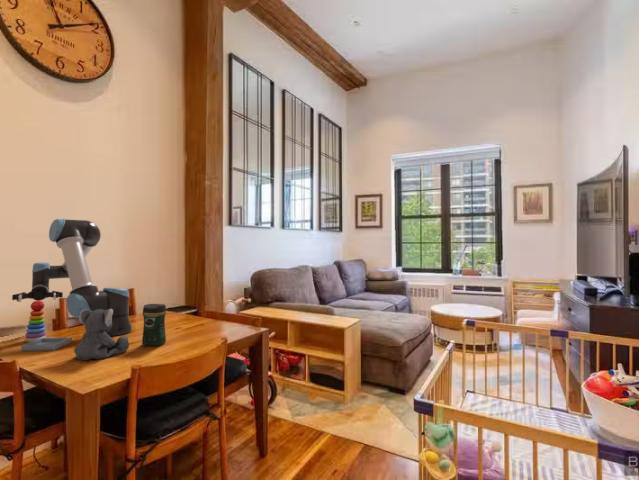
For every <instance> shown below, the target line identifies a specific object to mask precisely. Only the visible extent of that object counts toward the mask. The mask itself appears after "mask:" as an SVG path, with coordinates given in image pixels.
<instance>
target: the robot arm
mask: <svg viewBox="0 0 639 480" xmlns="http://www.w3.org/2000/svg"><path fill="white" fill-rule="evenodd" d="M101 237H102V236H101V229H100V228H99V227H98V225H97V224H96V223H94V222H92V221H90V220H86V219H84V220H83V219H66V218H63V219H62V218H57V219H54V220H53V221H52V222H51V224H50V227H49V230H48V238H49V240H50V242H52V243H56V246H57V248H58V249H61V252H62V255H63V260H64V262H63V263H62V264H60V265H51V264H50V263H49V262H34V263H33V264H32V270H31V272H32V273H31V274H32V276H31V277H32V278H31V280H32V281H31V290H30V291H29V292H28V293H27V292H26V291H25V292H24V291H22V292H21V293H16V294H12V297H11V299H12V301H16V302H18V303H21V302H22V300H25V299H29V300H34V301H38V300H39V301H43V300H45V299H47V298H53V301H55V300H56V299H57V298H63V295H64V294H63V293H64V292H63V291H56V290H52V291H51V292H50V280H54V279H57V280H58V279H69V282H70V286H71V290H70V292H69V294H68V296H67V297H66V305H65V306H66V309H67V312H68V313H69V314H70V315H71V316H72V317H74V318H75V319H76V318H78V319H79V316H80V312H81V311H83V310H85V309H89V310H91V311H95V310H97V309H102V310H105V311H106V310H108V309H109V310H110V309H113V315H112V328H111V329H110V331H109V332H108V333H107V334H108V335H109V336H110V337H114V336H124V335H126V334H129V333H131V332H132V331H133V326H132V323H131V320H130V317H129V309H130V307H129V303H130V291H129V290H128V289H127V288H124V287H123V288H121V287H103V289H102V290H99V289H98V286H97V285H96V284H93V282H92V276H91V274H90V271H89V265H88V263H87V260H86V256H87V255H88V254H89V253H90V251H91V250H92V248H94V247H95V246H97V245H98V244H99V242H100V241H101Z"/></svg>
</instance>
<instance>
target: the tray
mask: <svg viewBox="0 0 639 480" xmlns="http://www.w3.org/2000/svg"><path fill="white" fill-rule="evenodd" d="M71 343H73V337H46V338H40V339H38V340H35V341H33V342H27V343H25V344H23V345H21V349H20V350H21V352H36V351H37V352H38V351H39V352H41V351H42V352H46V351H50V352H51V351H53V352H54V351H56V350H58V349H60V348H63V347H64V346H68V345H69V344H71Z"/></svg>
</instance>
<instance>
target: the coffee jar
mask: <svg viewBox="0 0 639 480" xmlns="http://www.w3.org/2000/svg"><path fill="white" fill-rule="evenodd" d="M166 314H167V307H166V305H165V304H164V303H163V304H161V303H148V304H144V305H143V307H142V316H143V331H142V340H141V341H142V342H141V343H142V344H141V345H143V346H146V347H156V346H162V345H164V344H165V343H166V342H167V339H166V338H167V337H166V336H167V335H166V325H165V321H166V320H165V319H166Z"/></svg>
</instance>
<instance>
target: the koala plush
mask: <svg viewBox="0 0 639 480" xmlns="http://www.w3.org/2000/svg"><path fill="white" fill-rule="evenodd" d="M112 315H113V309H110V310H109V309H108V310H106V311H105V310H102V309H97V310H95V311H91V310H89V309H85V310H83V311H81V312H80V316H79V318H78V320H79V323H81V324H82V325H84V329H85V332H84V333H83V335H82V338H81V340H80V343H78V344H77V345H76V346H75V347H74V349H73V352H74V354H75V357H76V359H78V360H79V361H90V360H92V359H93V360H102V359H107V358H109V357H111V356H115V355H116V356H117V355H120V354H123V353H124V352H126V351H127V350H128V349H129V348H130V344H129V343H130V342H129V338H128V336H126V335H120V337H119V338H117V340H114V339H113V337H112V336H109V335H108V334H107V333H108V332H109V331H110V329H111V328H112Z"/></svg>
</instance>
